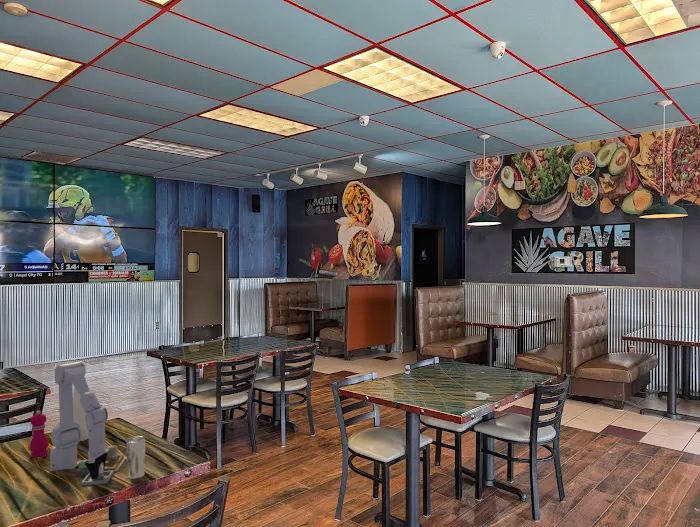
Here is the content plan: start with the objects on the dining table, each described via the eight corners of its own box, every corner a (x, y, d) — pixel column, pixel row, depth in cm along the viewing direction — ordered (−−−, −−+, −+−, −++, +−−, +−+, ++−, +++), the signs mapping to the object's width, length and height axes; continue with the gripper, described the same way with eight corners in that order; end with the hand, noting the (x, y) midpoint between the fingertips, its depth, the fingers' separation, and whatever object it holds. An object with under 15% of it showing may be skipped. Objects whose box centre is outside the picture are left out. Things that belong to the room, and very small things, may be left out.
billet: (90, 482, 193) (90, 466, 193) (94, 477, 197) (93, 462, 197) (101, 481, 193) (101, 465, 193) (105, 476, 197) (104, 461, 197)
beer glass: (134, 482, 193) (133, 443, 193) (123, 478, 197) (122, 440, 197) (149, 475, 199) (148, 437, 199) (138, 471, 203) (137, 434, 203)
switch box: (76, 477, 198) (76, 470, 198) (80, 473, 203) (80, 465, 203) (89, 476, 199) (88, 469, 199) (92, 472, 203) (92, 464, 203)
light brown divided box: (92, 475, 200) (92, 457, 200) (103, 461, 214) (103, 445, 214) (117, 473, 201) (116, 455, 201) (126, 459, 215) (125, 443, 215)
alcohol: (73, 437, 245) (71, 375, 245) (92, 435, 247) (91, 374, 247) (67, 443, 236) (65, 379, 236) (87, 441, 238) (86, 378, 238)
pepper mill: (25, 457, 220) (24, 412, 220) (41, 451, 227) (40, 407, 226) (37, 459, 217) (36, 413, 217) (52, 453, 224) (51, 409, 224)
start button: (79, 473, 199) (79, 463, 199) (82, 470, 202) (81, 460, 202) (87, 472, 200) (87, 462, 200) (89, 469, 202) (89, 459, 202)
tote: (81, 487, 190) (81, 482, 190) (89, 477, 199) (89, 472, 199) (106, 484, 191) (106, 480, 191) (113, 474, 200) (113, 470, 200)
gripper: (102, 445, 189) (103, 481, 189) (113, 432, 203) (114, 466, 203) (82, 447, 187) (83, 483, 187) (94, 434, 202) (95, 467, 202)
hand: (97, 474), depth 195 cm, fingers open, 7 cm apart
